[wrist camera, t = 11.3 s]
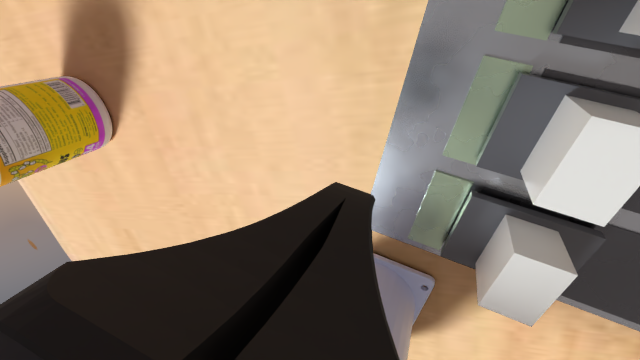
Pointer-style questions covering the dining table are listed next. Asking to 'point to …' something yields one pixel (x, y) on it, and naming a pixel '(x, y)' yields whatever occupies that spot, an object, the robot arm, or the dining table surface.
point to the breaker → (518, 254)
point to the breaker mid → (567, 146)
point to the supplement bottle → (48, 125)
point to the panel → (476, 123)
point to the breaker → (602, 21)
